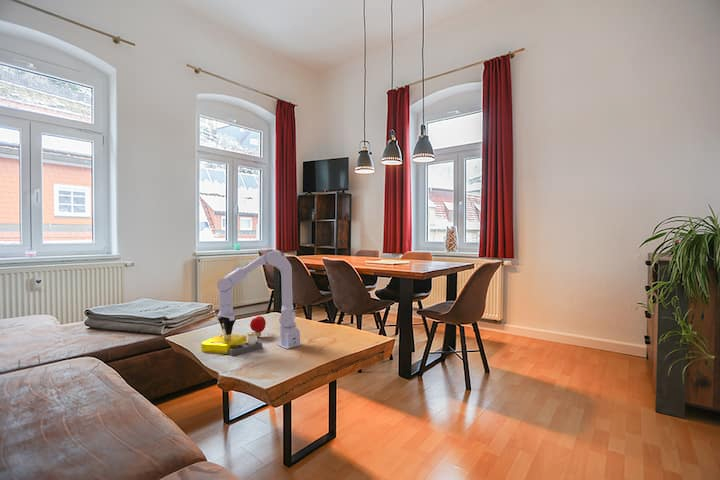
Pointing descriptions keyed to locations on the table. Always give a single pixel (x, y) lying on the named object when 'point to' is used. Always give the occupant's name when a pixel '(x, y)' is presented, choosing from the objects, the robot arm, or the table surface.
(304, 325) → the table surface
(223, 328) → the fuse
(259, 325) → the light bulb
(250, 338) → the cylinder
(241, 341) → the element tile
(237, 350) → the fuse block
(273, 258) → the robot arm
